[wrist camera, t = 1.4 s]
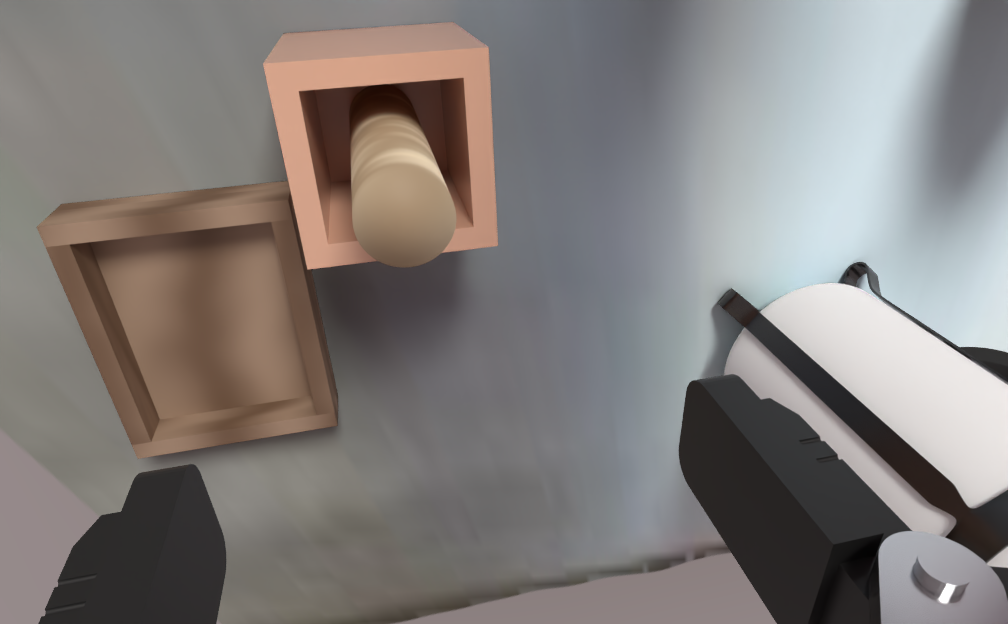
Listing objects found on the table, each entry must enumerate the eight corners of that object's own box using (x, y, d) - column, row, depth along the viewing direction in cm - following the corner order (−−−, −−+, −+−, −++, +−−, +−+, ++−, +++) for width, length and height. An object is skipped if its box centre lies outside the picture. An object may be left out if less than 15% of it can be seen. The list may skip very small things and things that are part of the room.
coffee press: (765, 457, 52) (1167, 948, 27) (645, 362, 44) (1050, 921, 19) (942, 307, 48) (1618, 717, 23) (845, 174, 40) (1698, 564, 15)
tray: (292, 180, 33) (287, 199, 31) (337, 395, 40) (337, 425, 38) (61, 204, 32) (36, 226, 29) (151, 424, 39) (137, 458, 36)
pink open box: (453, 22, 31) (488, 47, 24) (464, 180, 35) (497, 245, 28) (283, 33, 30) (263, 63, 22) (315, 196, 34) (307, 269, 26)
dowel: (411, 81, 31) (452, 164, 19) (418, 146, 33) (459, 260, 21) (344, 86, 31) (344, 176, 19) (354, 152, 32) (360, 273, 20)
